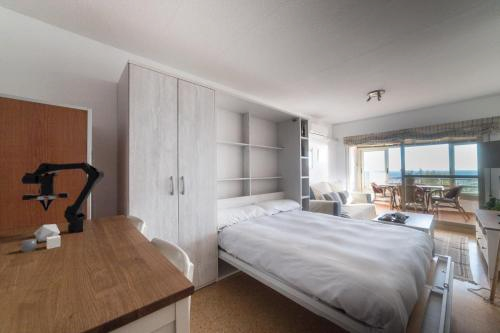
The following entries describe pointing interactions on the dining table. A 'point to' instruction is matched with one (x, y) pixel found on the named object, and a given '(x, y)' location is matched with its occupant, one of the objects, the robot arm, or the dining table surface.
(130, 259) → the dining table surface
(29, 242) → the grey rounded piece
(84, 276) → the dining table surface
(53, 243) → the cream block
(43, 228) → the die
